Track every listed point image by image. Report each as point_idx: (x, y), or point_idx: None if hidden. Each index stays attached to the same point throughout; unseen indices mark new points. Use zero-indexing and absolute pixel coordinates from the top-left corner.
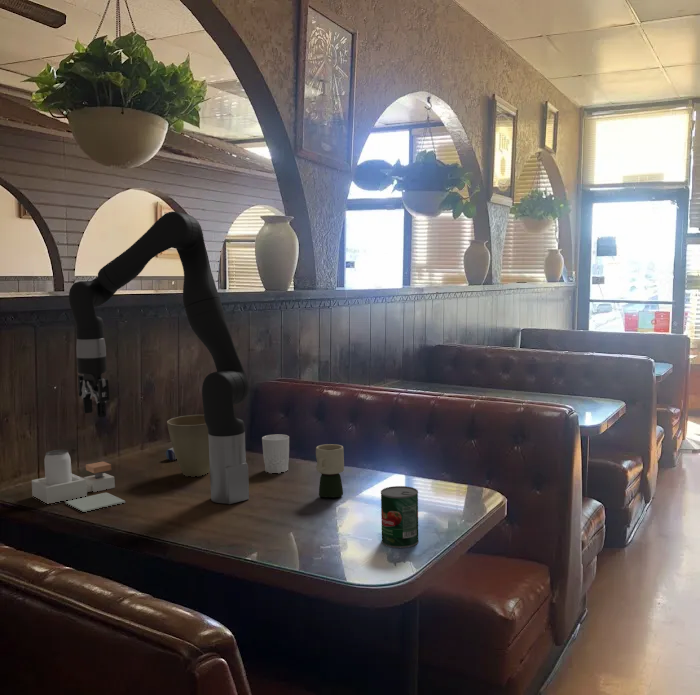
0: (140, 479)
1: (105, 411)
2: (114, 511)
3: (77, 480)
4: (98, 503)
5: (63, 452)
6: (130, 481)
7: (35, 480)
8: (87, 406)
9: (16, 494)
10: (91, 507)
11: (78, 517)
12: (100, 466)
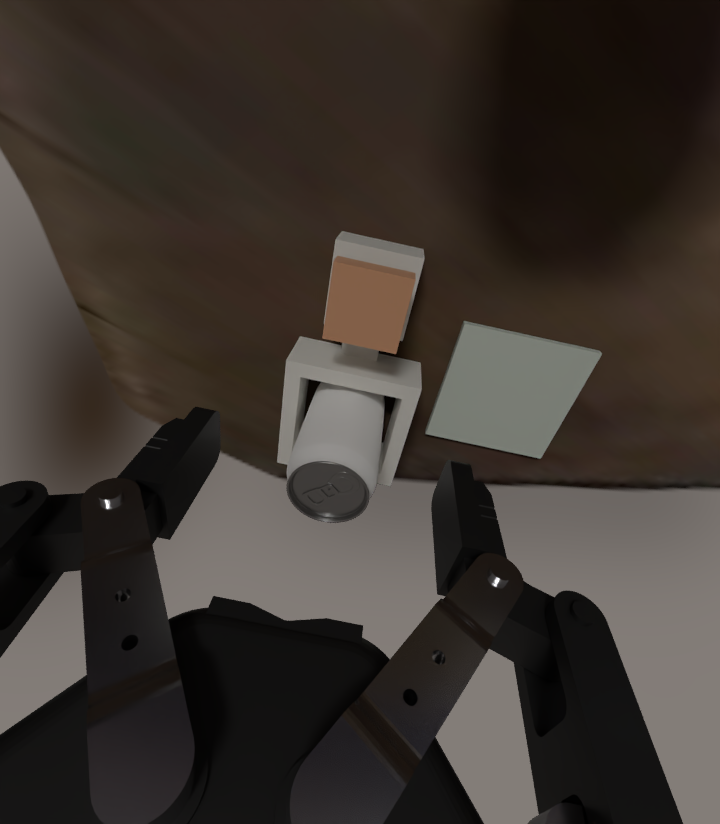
0: (422, 86)
1: (473, 486)
2: (617, 412)
3: (403, 407)
4: (532, 405)
5: (336, 475)
6: (406, 143)
7: (288, 459)
8: (197, 473)
9: (232, 437)
10: (541, 434)
11: (551, 475)
12: (402, 326)
